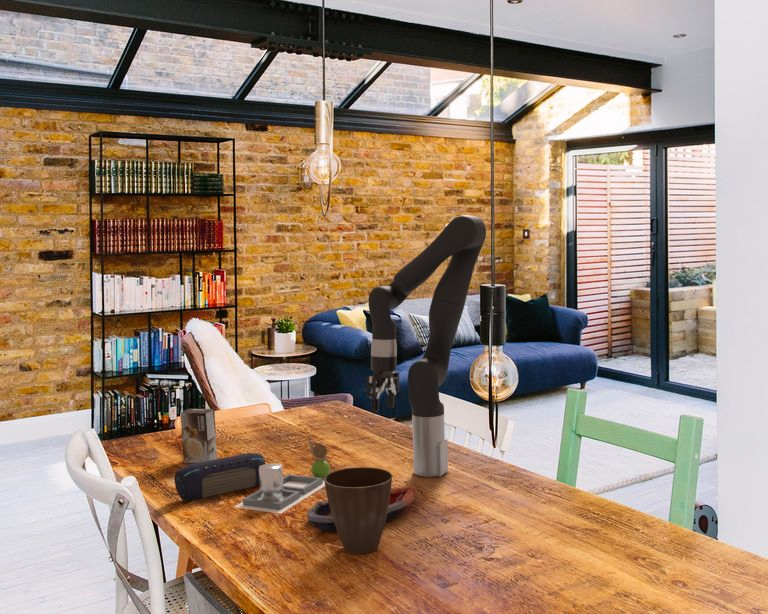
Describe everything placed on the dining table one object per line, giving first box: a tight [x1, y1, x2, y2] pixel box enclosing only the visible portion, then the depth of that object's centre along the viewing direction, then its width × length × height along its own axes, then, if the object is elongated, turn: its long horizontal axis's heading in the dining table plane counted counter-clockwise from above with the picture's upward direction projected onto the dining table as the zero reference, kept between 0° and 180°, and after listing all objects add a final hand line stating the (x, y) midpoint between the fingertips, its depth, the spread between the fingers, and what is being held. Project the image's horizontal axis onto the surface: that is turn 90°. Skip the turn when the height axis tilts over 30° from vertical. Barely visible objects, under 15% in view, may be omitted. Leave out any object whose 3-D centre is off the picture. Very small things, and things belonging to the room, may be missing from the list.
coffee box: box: [180, 408, 218, 464], centre depth 242 cm, size 9×6×16 cm
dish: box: [306, 486, 417, 532], centre depth 188 cm, size 16×31×5 cm, turn 122°
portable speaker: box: [174, 452, 266, 503], centre depth 208 cm, size 25×10×10 cm, turn 123°
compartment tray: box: [233, 473, 325, 514], centre depth 203 cm, size 14×26×3 cm, turn 156°
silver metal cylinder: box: [259, 462, 284, 502], centre depth 197 cm, size 6×6×9 cm
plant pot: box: [323, 466, 393, 555], centre depth 169 cm, size 15×15×16 cm
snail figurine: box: [308, 435, 331, 479], centre depth 220 cm, size 5×6×12 cm
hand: (382, 409), depth 226 cm, fingers open, 8 cm apart
